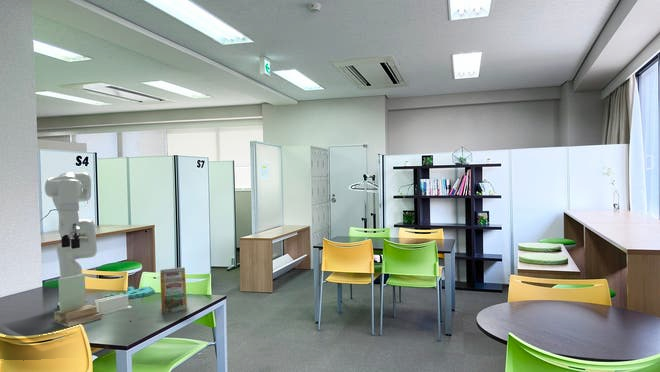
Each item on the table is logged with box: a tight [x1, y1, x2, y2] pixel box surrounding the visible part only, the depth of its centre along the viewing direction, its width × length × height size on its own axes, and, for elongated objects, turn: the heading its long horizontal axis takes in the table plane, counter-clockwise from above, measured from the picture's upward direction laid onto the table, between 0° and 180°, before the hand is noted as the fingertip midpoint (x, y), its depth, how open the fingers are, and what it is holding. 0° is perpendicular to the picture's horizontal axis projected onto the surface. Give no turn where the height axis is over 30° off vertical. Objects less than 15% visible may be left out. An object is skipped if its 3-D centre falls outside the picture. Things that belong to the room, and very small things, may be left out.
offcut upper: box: [63, 304, 98, 319], centre depth 182 cm, size 6×11×2 cm, turn 143°
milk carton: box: [159, 266, 188, 315], centre depth 199 cm, size 11×11×19 cm
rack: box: [53, 310, 103, 328], centre depth 184 cm, size 14×13×6 cm
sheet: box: [57, 273, 87, 313], centre depth 186 cm, size 1×10×18 cm, turn 143°
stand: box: [94, 294, 133, 315], centre depth 199 cm, size 9×13×6 cm
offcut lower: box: [63, 312, 98, 325], centre depth 182 cm, size 6×11×2 cm, turn 143°
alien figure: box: [104, 286, 156, 300], centre depth 232 cm, size 20×2×20 cm
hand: (70, 247), depth 186 cm, fingers open, 9 cm apart
